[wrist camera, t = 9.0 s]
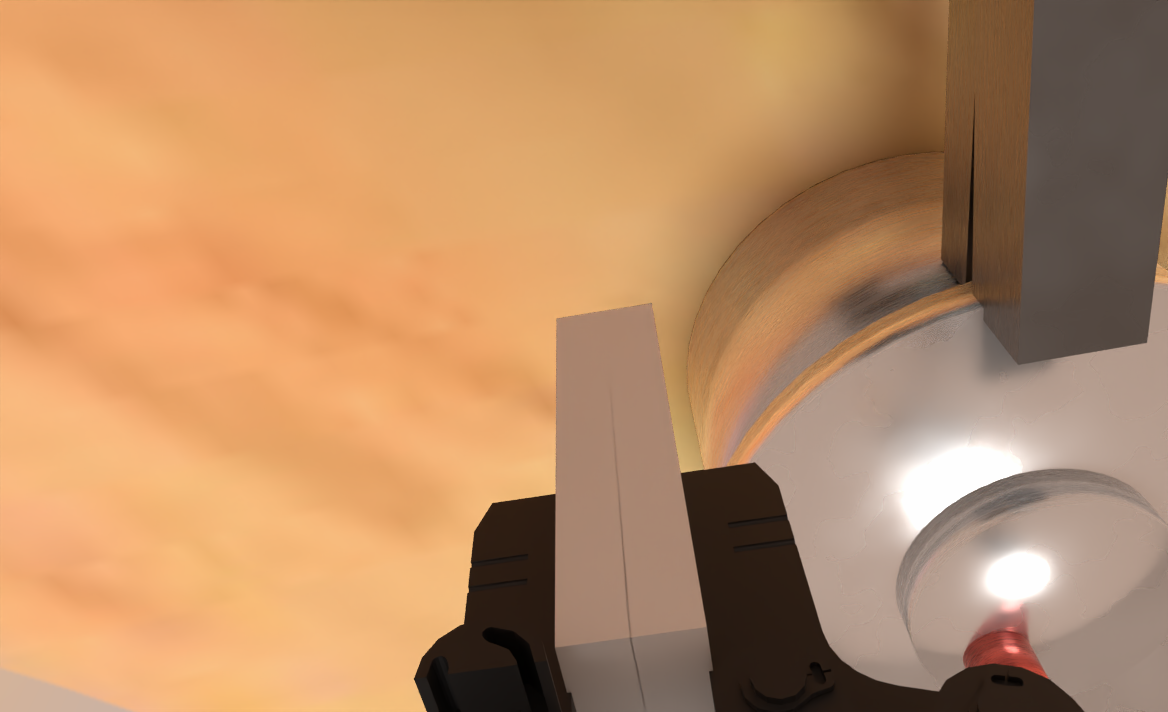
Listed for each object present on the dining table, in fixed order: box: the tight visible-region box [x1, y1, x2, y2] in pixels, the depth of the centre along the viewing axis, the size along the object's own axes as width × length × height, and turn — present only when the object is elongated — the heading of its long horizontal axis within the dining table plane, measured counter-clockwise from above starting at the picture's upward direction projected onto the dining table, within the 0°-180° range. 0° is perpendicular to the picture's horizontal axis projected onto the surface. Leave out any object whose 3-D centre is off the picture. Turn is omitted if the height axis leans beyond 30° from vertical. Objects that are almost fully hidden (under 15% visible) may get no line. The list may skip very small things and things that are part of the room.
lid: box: [726, 0, 1168, 712], centre depth 26 cm, size 28×20×5 cm
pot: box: [687, 0, 1164, 470], centre depth 34 cm, size 28×18×11 cm, turn 9°
